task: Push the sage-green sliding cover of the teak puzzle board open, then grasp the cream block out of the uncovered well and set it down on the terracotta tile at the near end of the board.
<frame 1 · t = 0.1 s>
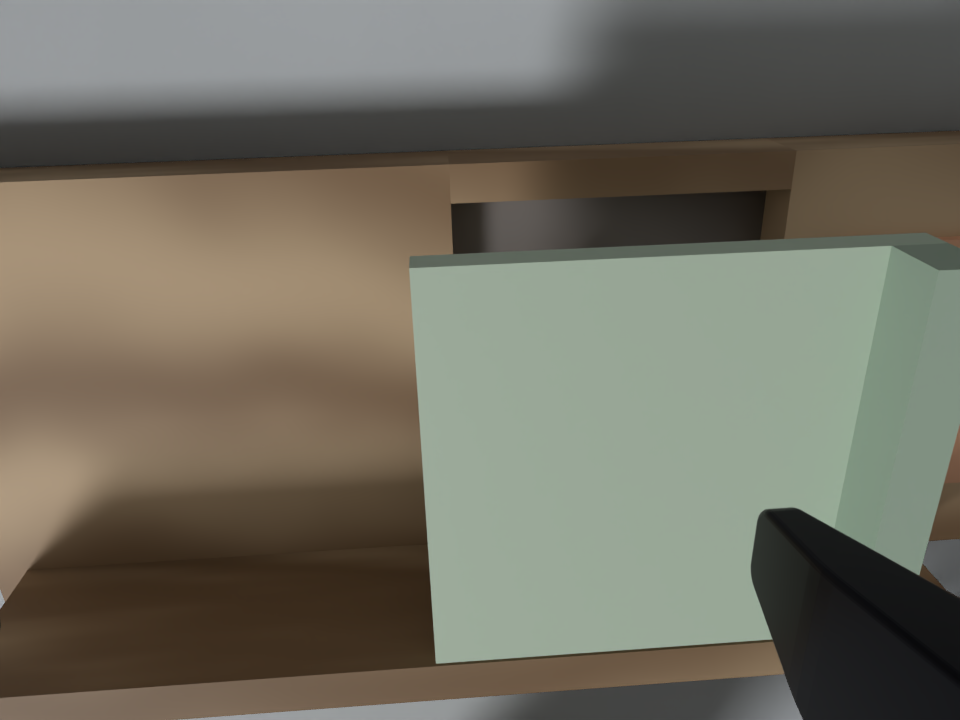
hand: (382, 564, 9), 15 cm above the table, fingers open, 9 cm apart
puzzle board: (599, 356, 24), on the table
sage cover: (669, 486, 17), point 8 cm above the table, slide at 0.0 cm
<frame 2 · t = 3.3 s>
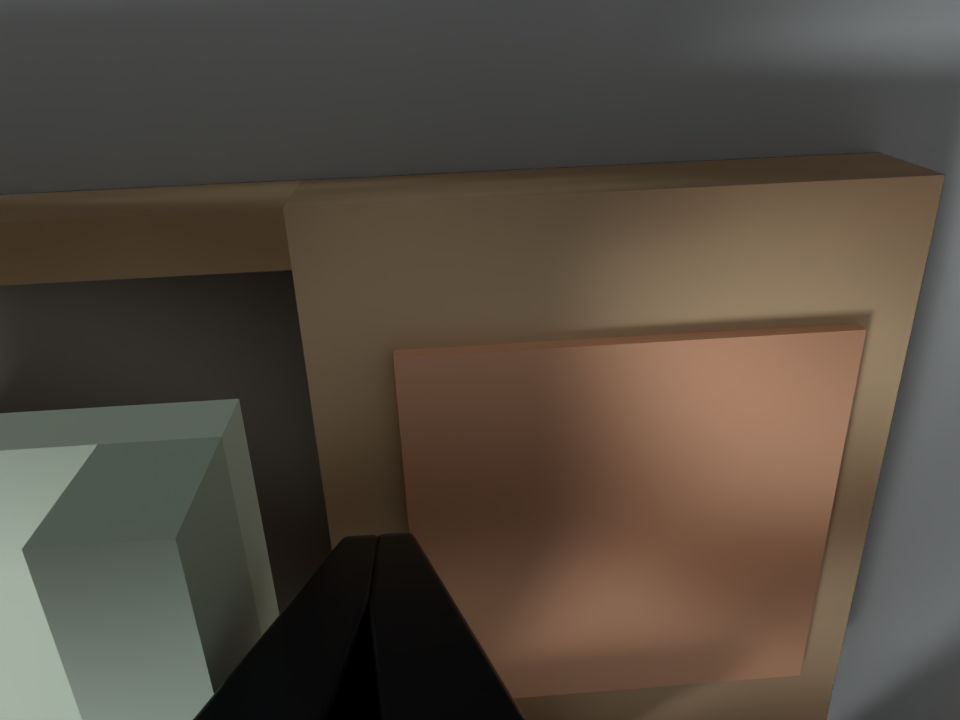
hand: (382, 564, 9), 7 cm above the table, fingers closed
puzzle board: (125, 501, 16), on the table
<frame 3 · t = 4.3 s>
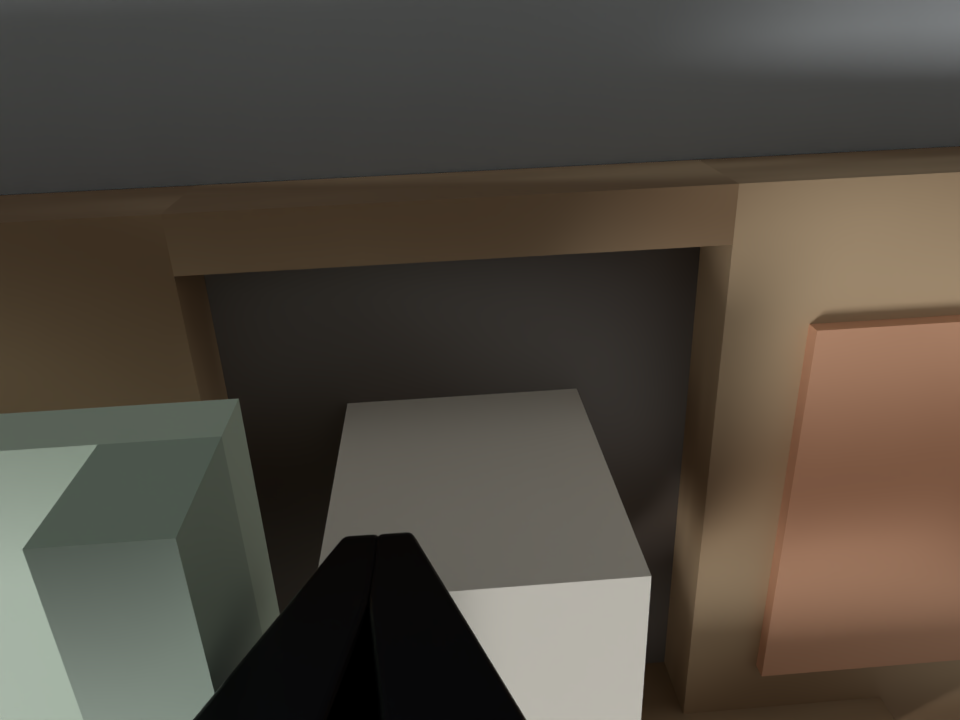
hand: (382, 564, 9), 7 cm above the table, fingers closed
puzzle board: (466, 477, 17), on the table
cream block: (467, 491, 16), resting on puzzle board
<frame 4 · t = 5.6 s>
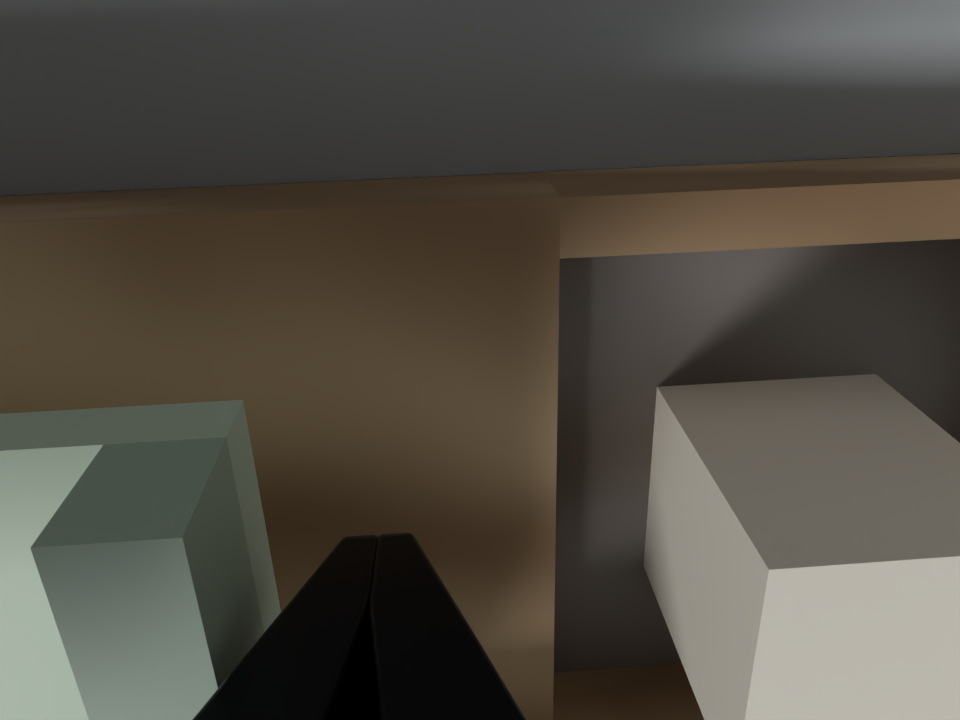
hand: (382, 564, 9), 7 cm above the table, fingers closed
puzzle board: (744, 462, 17), on the table
cream block: (753, 474, 17), resting on puzzle board
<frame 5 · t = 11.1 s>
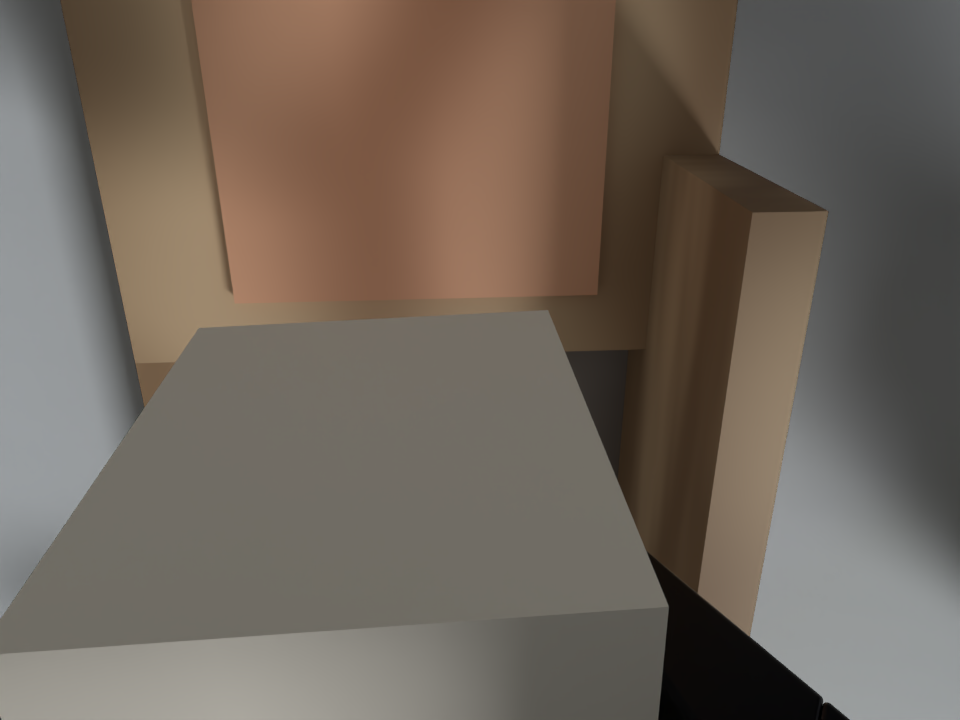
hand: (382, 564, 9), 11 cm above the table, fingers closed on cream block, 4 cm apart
puzzle board: (426, 472, 22), on the table
cream block: (388, 466, 11), point 9 cm above the table, touching gripper
when the fingers open (5 cm above the table, at t = 12.7 s): cream block stays where it is, resting on puzzle board.
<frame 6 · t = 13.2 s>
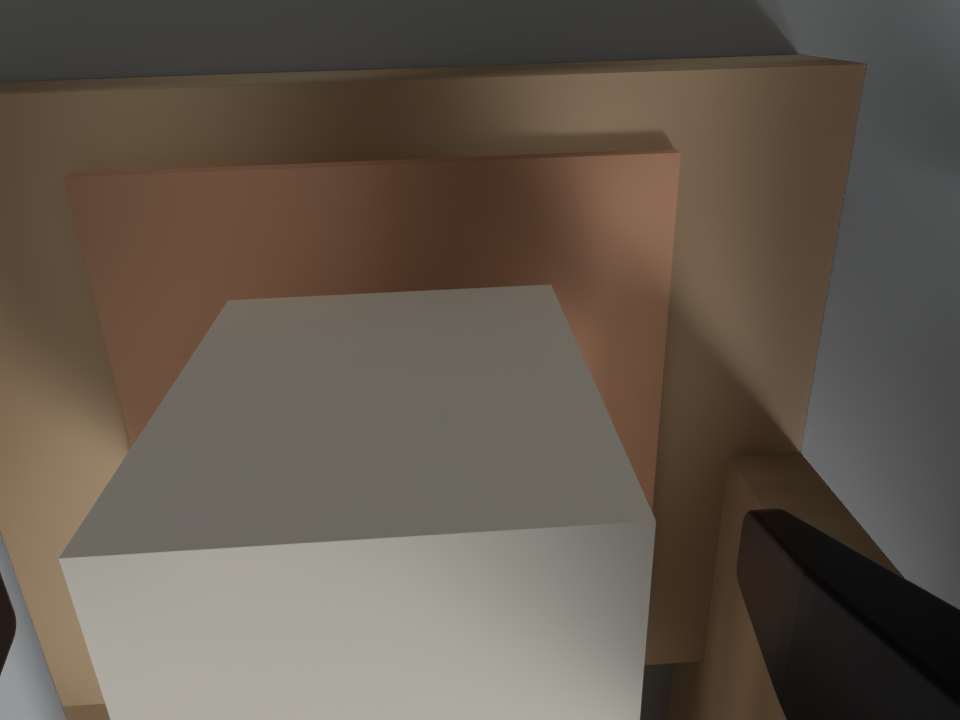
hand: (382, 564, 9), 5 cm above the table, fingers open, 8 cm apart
cream block: (402, 431, 12), point 2 cm above the table, touching puzzle board
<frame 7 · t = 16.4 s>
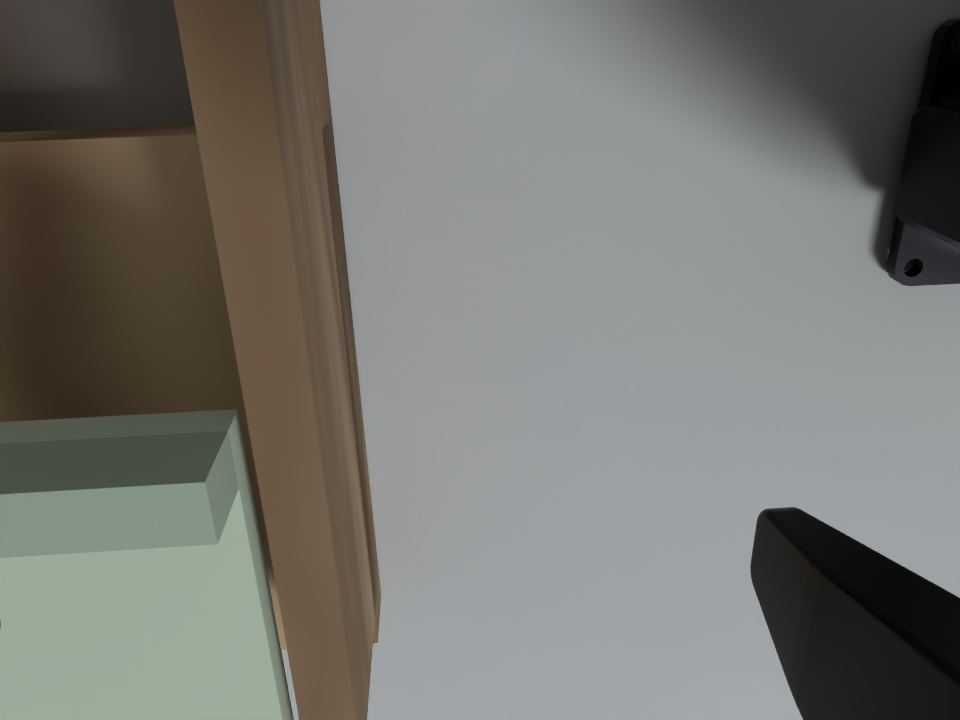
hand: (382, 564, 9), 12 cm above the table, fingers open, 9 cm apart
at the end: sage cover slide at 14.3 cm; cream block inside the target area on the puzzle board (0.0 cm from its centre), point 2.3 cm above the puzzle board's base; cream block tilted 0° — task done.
